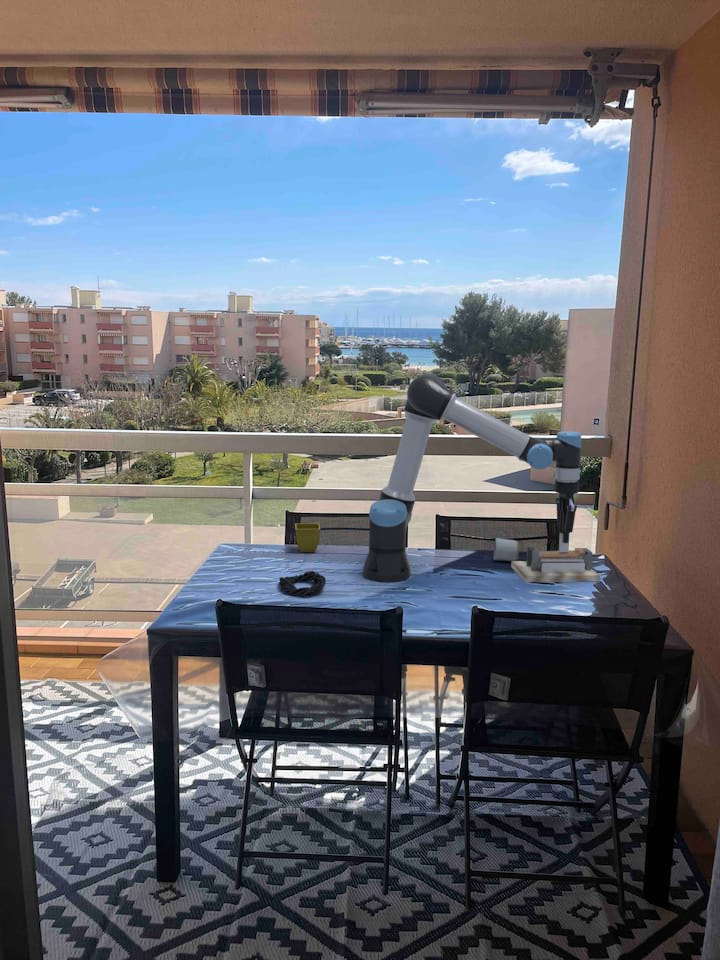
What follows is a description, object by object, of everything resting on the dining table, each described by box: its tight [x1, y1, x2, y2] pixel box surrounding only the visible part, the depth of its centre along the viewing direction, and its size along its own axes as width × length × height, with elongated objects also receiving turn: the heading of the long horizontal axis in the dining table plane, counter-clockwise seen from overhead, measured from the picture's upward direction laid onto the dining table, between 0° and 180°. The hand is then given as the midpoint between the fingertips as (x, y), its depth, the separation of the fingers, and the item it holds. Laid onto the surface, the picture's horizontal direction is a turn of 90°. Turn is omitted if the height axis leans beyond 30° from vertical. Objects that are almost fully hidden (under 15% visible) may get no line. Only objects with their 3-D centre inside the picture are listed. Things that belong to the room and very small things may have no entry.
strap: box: [530, 547, 585, 557], centre depth 243 cm, size 17×4×2 cm, turn 95°
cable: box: [278, 570, 327, 598], centre depth 225 cm, size 17×14×4 cm
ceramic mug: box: [493, 537, 520, 562], centre depth 260 cm, size 11×8×8 cm
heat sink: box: [525, 545, 593, 573], centre depth 244 cm, size 20×11×6 cm, turn 94°
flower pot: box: [294, 522, 321, 553], centre depth 266 cm, size 9×9×9 cm
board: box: [510, 560, 601, 583], centre depth 245 cm, size 24×16×2 cm, turn 95°
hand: (563, 551), depth 243 cm, fingers closed
